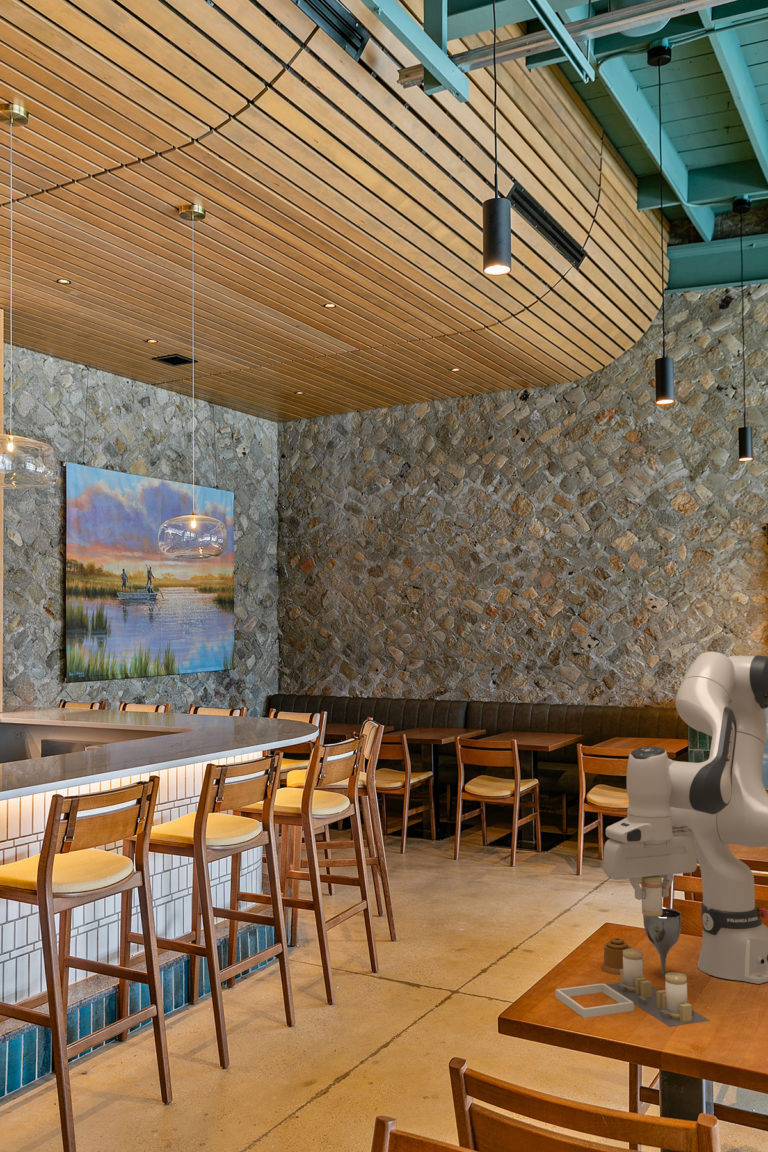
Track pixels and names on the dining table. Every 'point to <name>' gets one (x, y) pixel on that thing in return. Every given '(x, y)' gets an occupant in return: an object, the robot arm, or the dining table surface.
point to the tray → (622, 1006)
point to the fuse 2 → (675, 993)
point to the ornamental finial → (614, 956)
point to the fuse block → (656, 1002)
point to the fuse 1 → (632, 967)
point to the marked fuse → (652, 895)
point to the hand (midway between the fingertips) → (651, 897)
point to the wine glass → (663, 932)
